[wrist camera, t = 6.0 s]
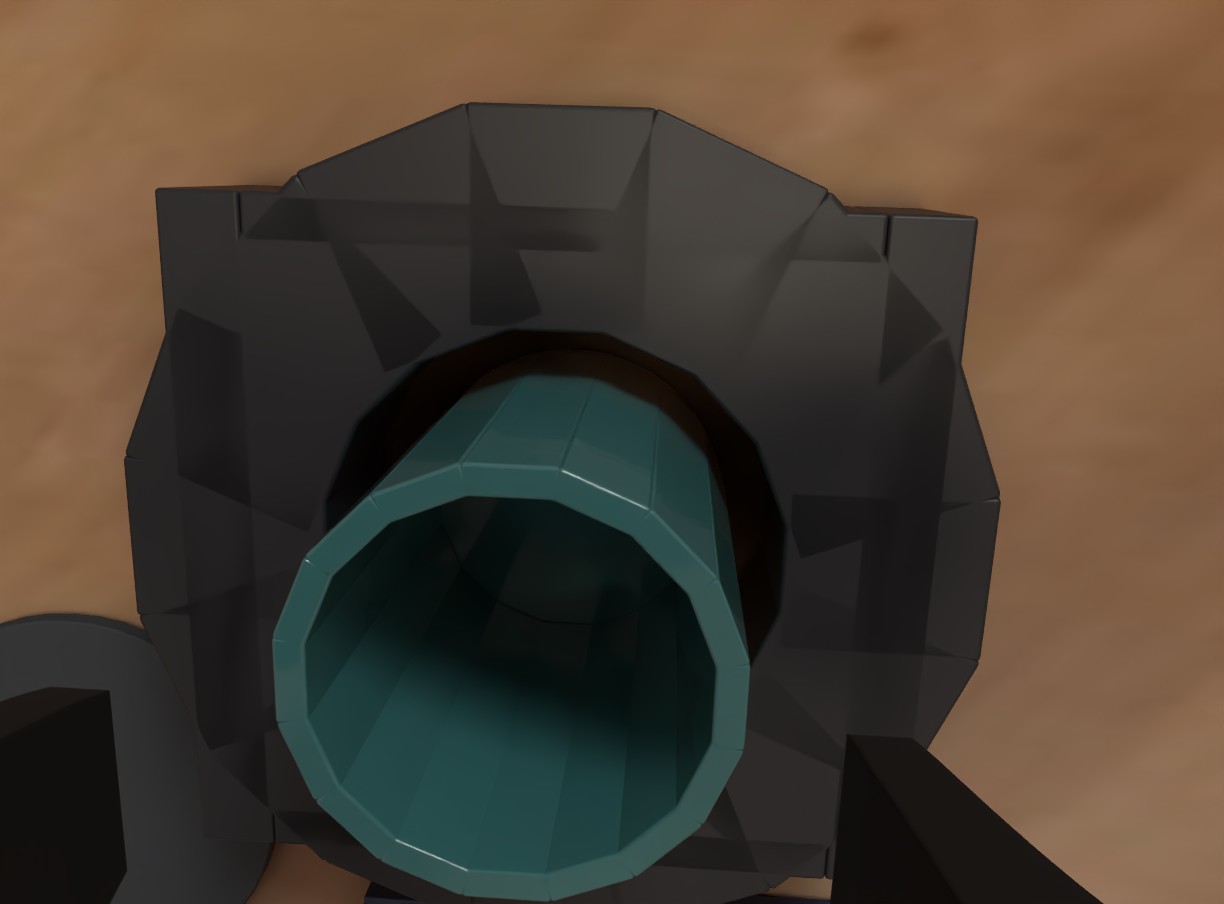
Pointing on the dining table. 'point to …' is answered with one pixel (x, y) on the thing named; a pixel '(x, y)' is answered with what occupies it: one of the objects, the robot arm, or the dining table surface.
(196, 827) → the coaster
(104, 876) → the robot arm
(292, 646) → the cup
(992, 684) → the dining table surface
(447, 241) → the cup holder
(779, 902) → the control block
